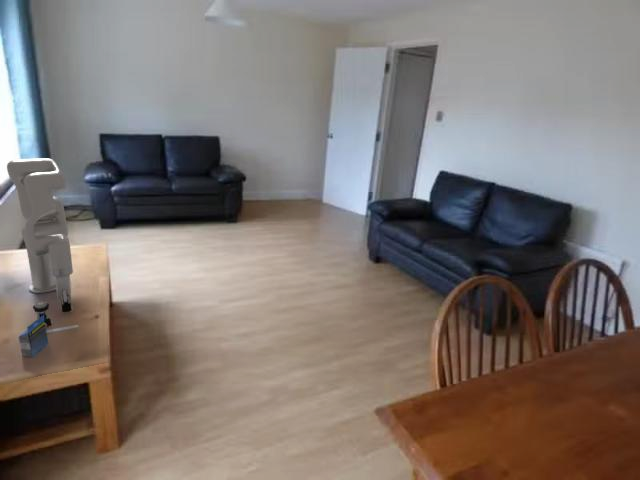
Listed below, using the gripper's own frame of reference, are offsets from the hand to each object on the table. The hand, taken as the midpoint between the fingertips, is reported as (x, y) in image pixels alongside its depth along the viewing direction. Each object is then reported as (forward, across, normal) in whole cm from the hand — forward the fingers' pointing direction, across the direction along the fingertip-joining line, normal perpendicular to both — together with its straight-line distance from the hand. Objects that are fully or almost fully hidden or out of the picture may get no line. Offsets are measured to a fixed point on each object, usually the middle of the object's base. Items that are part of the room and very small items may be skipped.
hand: (66, 308), depth 176 cm
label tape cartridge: (+2, +25, -11) cm, 27 cm away
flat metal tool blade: (+2, +13, -3) cm, 14 cm away
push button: (+2, +8, -9) cm, 12 cm away
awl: (+1, 0, 0) cm, 1 cm away
